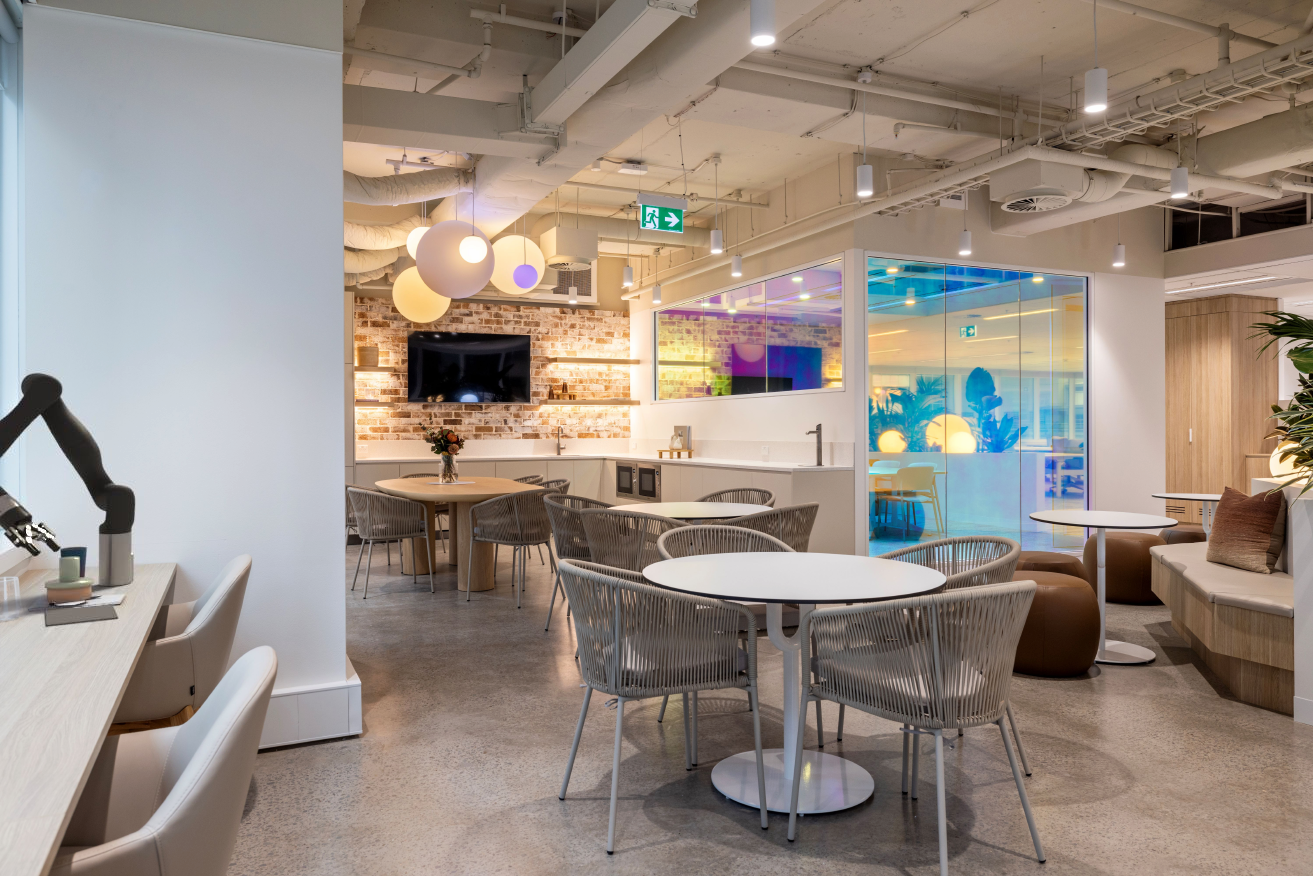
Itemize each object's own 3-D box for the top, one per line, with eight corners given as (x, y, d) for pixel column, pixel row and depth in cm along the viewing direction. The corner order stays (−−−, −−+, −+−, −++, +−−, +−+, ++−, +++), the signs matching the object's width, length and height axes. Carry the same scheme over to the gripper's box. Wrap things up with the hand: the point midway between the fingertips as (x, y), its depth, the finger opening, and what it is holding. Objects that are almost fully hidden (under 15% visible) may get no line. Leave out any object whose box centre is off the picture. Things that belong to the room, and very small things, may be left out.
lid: (68, 580, 255) (68, 554, 255) (103, 582, 254) (103, 555, 254) (34, 588, 244) (34, 560, 243) (70, 589, 242) (70, 561, 242)
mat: (45, 610, 239) (45, 609, 239) (111, 604, 248) (111, 602, 248) (46, 626, 221) (46, 624, 221) (118, 618, 231) (118, 617, 231)
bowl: (68, 598, 255) (68, 580, 255) (100, 600, 253) (100, 582, 253) (37, 606, 244) (37, 587, 244) (70, 608, 243) (70, 589, 242)
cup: (92, 594, 262) (92, 547, 261) (74, 598, 255) (75, 550, 255) (72, 593, 262) (72, 546, 262) (54, 598, 256) (54, 549, 255)
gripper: (0, 507, 241) (40, 547, 241) (35, 502, 255) (73, 540, 255) (-19, 525, 241) (21, 565, 241) (17, 519, 255) (55, 557, 255)
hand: (48, 552), depth 248 cm, fingers open, 8 cm apart
